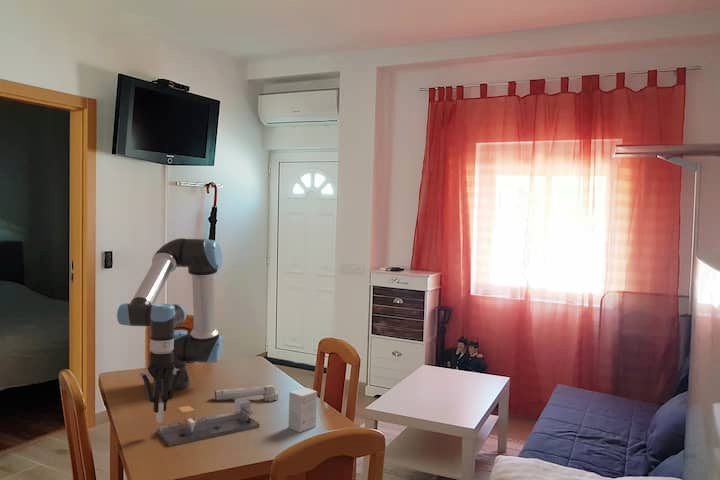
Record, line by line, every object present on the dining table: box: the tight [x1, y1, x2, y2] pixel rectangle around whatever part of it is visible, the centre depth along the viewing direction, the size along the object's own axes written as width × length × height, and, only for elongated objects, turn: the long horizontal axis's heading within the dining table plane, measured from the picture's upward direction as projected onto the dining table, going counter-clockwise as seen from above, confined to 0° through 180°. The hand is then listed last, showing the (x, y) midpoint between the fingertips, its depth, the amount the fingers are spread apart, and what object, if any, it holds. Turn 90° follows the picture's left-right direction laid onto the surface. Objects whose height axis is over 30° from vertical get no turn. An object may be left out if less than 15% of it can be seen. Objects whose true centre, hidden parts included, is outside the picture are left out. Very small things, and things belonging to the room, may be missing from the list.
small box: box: [287, 387, 318, 433], centre depth 199 cm, size 8×6×13 cm
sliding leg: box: [177, 405, 196, 432], centre depth 189 cm, size 9×4×6 cm, turn 37°
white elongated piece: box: [214, 384, 279, 402], centre depth 225 cm, size 5×7×25 cm
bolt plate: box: [155, 397, 261, 447], centre depth 193 cm, size 13×32×7 cm, turn 127°
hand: (159, 420), depth 186 cm, fingers closed
